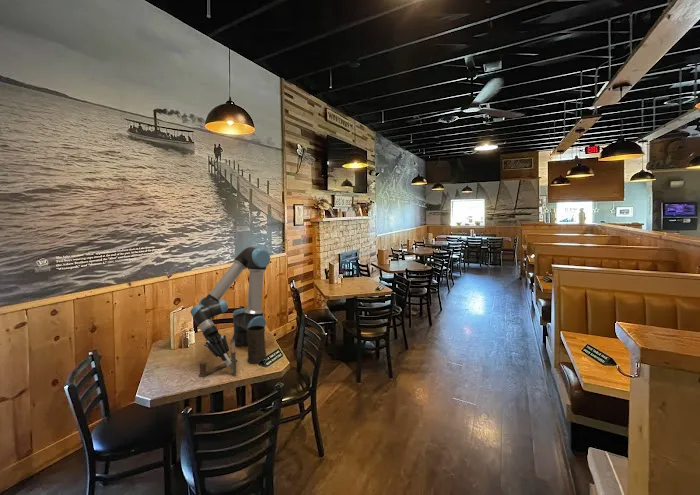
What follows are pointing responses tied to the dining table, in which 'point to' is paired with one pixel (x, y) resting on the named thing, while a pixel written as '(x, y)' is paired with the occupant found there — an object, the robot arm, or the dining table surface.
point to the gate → (233, 357)
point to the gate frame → (205, 373)
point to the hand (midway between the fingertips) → (229, 364)
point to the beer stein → (256, 344)
